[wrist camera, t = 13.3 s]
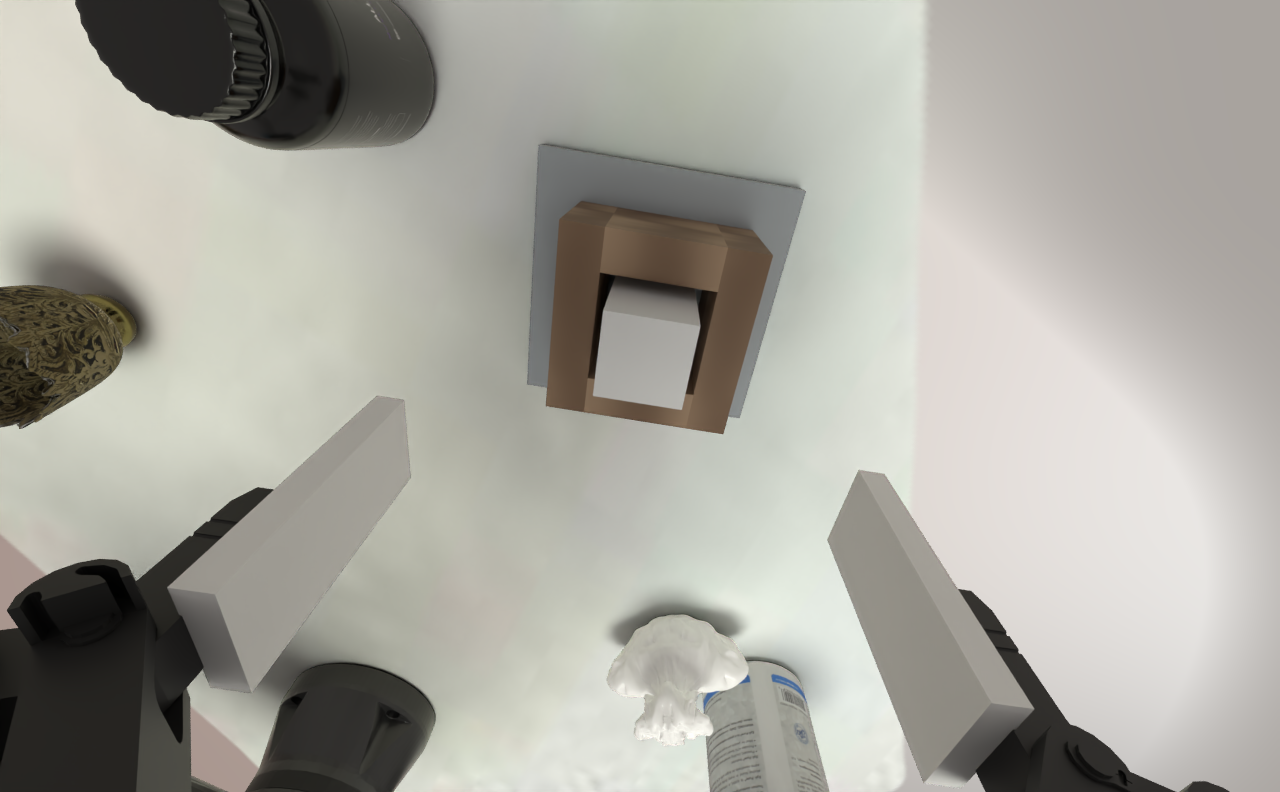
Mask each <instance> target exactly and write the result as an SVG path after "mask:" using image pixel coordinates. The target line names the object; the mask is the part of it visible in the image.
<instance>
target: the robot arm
mask: <svg viewBox="0 0 1280 792" xmlns="http://www.w3.org/2000/svg"><path fill="white" fill-rule="evenodd" d="M410 478H411V474H410V463H409V451H408V439H407V427H406V415H405V404H404V400H401V399H395V398H388V397H382V396H376V397H375V398H374V399H373V400H372V401H371V402H369V403H368V404H367V405H366V406H365V407H364V408H363V409H362V410H361V411H360V412H359V413H357V414H356V415H355V416H354V417H353V418H352V419H351V420H350V421H349V422H348V423H347V424H345V425H344V426H343V427H342V428H341V429H340V430H339V431H338V432H337V433H336V434H334V435H333V436H332V437H331V438H330V439H329V440H328V441H327V442H326V443H325V444H324V445H322V446H321V447H320V448H319V449H318V450H317V451H316V452H315V453H314V454H313V455H312V456H310V457H309V458H308V459H307V460H306V461H305V462H304V463H303V464H302V465H301V466H299V467H298V468H297V469H296V470H295V471H294V472H293V473H292V474H291V475H290V476H289V477H287V478H286V479H285V480H284V481H283V482H282V483H281V484H280V485H279V486H278V487H277V488H275V489H274V490H273V489H266V488H259V487H257V488H255V489H253V490H251V491H249V492H247V493H245V494H244V495H242V496H240V497H238V498H236V499H234V500H232V501H230V502H229V503H228V504H227V505H226V506H224V507H223V508H222V509H221V510H220V511H218V512H217V513H216V514H215V515H214V516H213V517H211V520H210V521H209V522H206V523H204V524H203V525H202V526H201V527H200V528H198V529H197V530H196V531H195V532H194V535H193V536H189V537H188V538H187V539H186V540H184V541H183V542H182V543H181V544H180V545H178V546H177V547H176V548H175V549H174V550H173V551H171V552H170V553H169V554H168V555H167V556H166V557H164V558H163V559H162V560H161V561H160V562H158V563H157V564H156V565H155V566H154V567H153V568H151V569H150V570H149V571H148V572H147V573H146V574H144V575H143V576H142V577H141V578H140V579H138V580H137V581H135V579H134V577H133V575H132V572H131V570H130V568H129V566H128V565H126V564H124V563H122V562H120V561H118V560H109V559H97V560H91V561H86V562H80V563H76V564H73V565H70V566H68V567H65V568H62V569H59V570H56V571H54V572H52V573H50V574H48V575H46V576H44V577H43V578H41V579H39V580H37V581H35V582H33V583H32V584H31V585H29V586H28V587H27V588H26V589H24V590H23V591H22V592H21V593H20V594H18V595H17V596H16V597H15V598H14V600H13V602H12V603H11V605H10V606H9V608H8V609H7V612H8V613H9V615H10V616H11V618H12V619H13V620H14V622H15V623H16V625H17V626H18V628H14V629H7V630H0V792H227V791H225V790H222V789H220V788H218V787H216V786H214V785H211V784H209V783H207V782H205V781H202V780H200V779H198V778H196V777H194V776H191V732H190V730H191V729H190V696H189V694H188V691H187V687H188V685H189V684H190V683H191V682H192V681H193V680H194V678H195V677H196V676H197V675H198V674H199V673H200V672H201V670H202V669H203V671H204V673H205V676H206V678H207V680H208V682H209V685H210V687H211V688H217V689H224V690H231V691H239V692H246V693H252V692H253V691H254V690H255V688H256V687H257V686H258V684H259V683H260V681H261V680H262V679H263V677H264V676H265V675H266V673H267V672H268V671H269V669H270V668H271V667H272V665H273V664H274V662H275V661H276V660H277V658H278V657H279V656H280V654H281V653H282V652H283V650H284V649H285V648H286V646H287V645H288V643H289V642H290V641H291V639H292V638H293V637H294V635H295V634H296V633H297V631H298V630H299V629H300V627H301V626H302V624H303V623H304V622H305V620H306V619H307V618H308V616H309V615H310V614H311V612H312V611H313V610H314V608H315V607H316V605H317V604H318V603H319V601H320V600H321V599H322V597H323V596H324V595H325V593H326V592H327V591H328V589H329V588H330V586H331V585H332V584H333V582H334V581H335V580H336V578H337V577H338V576H339V574H340V573H341V572H342V570H343V569H344V567H345V566H346V565H347V563H348V562H349V561H350V559H351V558H352V557H353V555H354V554H355V553H356V551H357V550H358V548H359V547H360V546H361V544H362V543H363V542H364V540H365V539H366V538H367V536H368V535H369V534H370V532H371V531H372V529H373V528H374V527H375V525H376V524H377V523H378V521H379V520H380V519H381V517H382V516H383V515H384V513H385V512H386V510H387V509H388V508H389V506H390V505H391V504H392V502H393V501H394V500H395V498H396V497H397V496H398V494H399V493H400V491H401V490H402V489H403V487H404V486H405V485H406V483H407V482H408V481H409V479H410ZM827 540H828V543H829V545H830V548H831V550H832V553H833V555H834V558H835V561H836V563H837V566H838V568H839V571H840V573H841V576H842V578H843V581H844V583H845V586H846V588H847V591H848V593H849V596H850V598H851V601H852V603H853V606H854V609H855V611H856V614H857V616H858V619H859V621H860V624H861V626H862V629H863V631H864V634H865V636H866V639H867V641H868V644H869V646H870V649H871V651H872V654H873V657H874V659H875V662H876V664H877V667H878V669H879V672H880V674H881V677H882V679H883V682H884V684H885V687H886V689H887V692H888V694H889V697H890V699H891V702H892V705H893V707H894V710H895V712H896V715H897V717H898V720H899V722H900V725H901V727H902V730H903V732H904V735H905V737H906V740H907V742H908V745H909V747H910V750H911V752H912V755H913V758H914V760H915V762H916V765H917V768H918V770H919V772H920V775H921V778H922V780H923V783H924V784H931V785H939V786H946V787H954V788H962V787H963V786H964V785H965V784H966V783H967V782H968V780H970V778H971V777H972V776H973V775H974V774H975V773H977V775H978V777H979V779H980V781H981V783H982V785H983V787H984V789H985V791H986V792H1175V791H1173V790H1170V789H1168V788H1166V787H1164V786H1161V785H1159V784H1157V783H1154V782H1152V781H1149V780H1147V779H1145V778H1143V777H1140V776H1138V775H1136V774H1134V773H1131V772H1130V771H1129V770H1128V768H1127V767H1126V765H1125V764H1124V763H1123V762H1122V760H1121V759H1120V758H1119V757H1118V756H1117V755H1116V754H1115V753H1114V752H1113V751H1112V750H1111V749H1110V748H1109V747H1108V746H1106V745H1105V744H1104V743H1103V742H1101V741H1100V740H1098V739H1097V738H1096V737H1095V736H1094V735H1092V734H1090V733H1088V732H1086V731H1084V730H1082V729H1081V728H1079V727H1077V726H1073V725H1070V724H1069V723H1068V721H1067V720H1066V719H1065V717H1064V716H1063V714H1062V713H1061V711H1060V710H1059V709H1058V707H1057V705H1056V704H1055V703H1054V701H1053V699H1052V698H1051V697H1050V695H1049V694H1048V692H1047V691H1046V689H1045V688H1044V686H1043V685H1042V684H1041V682H1040V681H1039V679H1038V677H1037V676H1036V675H1035V673H1034V672H1033V670H1032V669H1031V667H1030V666H1029V664H1028V663H1027V661H1026V660H1025V658H1024V657H1023V655H1022V654H1019V653H1018V648H1017V647H1016V645H1015V644H1014V642H1013V641H1012V639H1011V638H1010V636H1007V635H1006V630H1005V629H1004V628H1003V626H1002V625H1001V623H1000V622H999V620H998V619H997V617H996V616H995V615H994V613H993V612H992V610H991V609H989V607H987V606H986V605H985V604H984V603H983V602H982V601H981V600H980V599H979V598H978V597H977V596H976V595H975V594H974V593H973V592H972V591H967V590H961V589H957V587H956V586H955V584H954V582H953V581H952V579H951V578H950V576H949V574H948V573H947V571H946V570H945V568H944V567H943V565H942V564H941V562H940V560H939V559H938V557H937V556H936V554H935V553H934V551H933V550H932V548H931V546H930V545H929V543H928V542H927V540H926V538H925V537H924V535H923V534H922V532H921V531H920V529H919V528H918V526H917V524H916V523H915V521H914V520H913V518H912V517H911V515H910V513H909V512H908V510H907V509H906V507H905V506H904V504H903V502H902V501H901V499H900V498H899V496H898V495H897V493H896V491H895V490H894V488H893V487H892V485H891V484H890V482H889V480H888V479H887V477H886V476H885V474H881V473H875V472H868V471H862V470H858V473H857V475H856V477H855V479H854V481H853V484H852V486H851V488H850V490H849V493H848V495H847V497H846V499H845V501H844V504H843V506H842V508H841V510H840V513H839V515H838V517H837V519H836V521H835V524H834V526H833V528H832V530H831V533H830V535H829V537H828V539H827ZM434 724H435V715H434V711H433V709H432V707H431V705H430V704H429V702H428V701H427V700H426V698H425V697H424V696H423V695H422V694H421V693H420V692H418V691H417V690H416V689H415V688H413V687H412V686H410V685H409V684H407V683H406V682H404V681H402V680H400V679H398V678H396V677H394V676H392V675H390V674H387V673H385V672H382V671H379V670H375V669H372V668H368V667H363V666H357V665H349V664H329V665H322V666H318V667H314V668H311V669H309V670H307V671H305V672H303V673H302V674H301V675H300V676H299V677H298V678H297V679H296V681H295V682H294V684H293V685H292V687H291V688H290V689H289V691H288V692H287V694H286V695H285V697H284V698H283V700H282V702H281V705H280V707H279V710H278V713H277V716H276V719H275V723H274V726H273V729H272V732H271V735H270V738H269V741H268V744H267V747H266V750H265V753H264V756H263V759H262V762H261V765H260V768H259V770H258V772H257V774H256V776H255V777H254V779H253V780H252V782H251V783H250V785H249V786H248V788H247V790H246V791H245V792H394V790H395V789H396V788H397V786H398V785H399V784H400V782H401V781H402V779H403V778H404V777H405V775H406V774H407V773H408V771H409V770H410V769H411V767H412V766H413V765H414V763H415V762H416V760H417V759H418V758H419V756H420V755H421V754H422V752H423V750H424V749H425V747H426V745H427V742H428V740H429V737H430V735H431V732H432V730H433V727H434ZM1180 792H1229V791H1228V790H1226V789H1224V788H1222V787H1219V786H1217V785H1214V784H1211V783H1209V782H1205V781H1202V782H1200V781H1199V782H1192V783H1191V784H1190V785H1188V786H1187V787H1185V788H1184V789H1183V790H1181V791H1180Z"/></svg>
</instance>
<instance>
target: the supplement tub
mask: <svg viewBox="0 0 1280 792" xmlns="http://www.w3.org/2000/svg"><path fill="white" fill-rule="evenodd" d="M747 665H748V666H749V670H748V674H747V676H746V678H745V679H744V680H743V681H741V682H740V683H739V684H738V685H736V686H735V687H733V688H731V689H728V690H724V691H715V692H710V693H703V703H704V714H706V715H708V716H709V718H710V721H711V723H712V725H713V733H712V734H711V735H710V736H707V735H706V745H707V759H708V772H709V785H710V792H829V788H828V784H827V780H826V776H825V772H824V769H823V765H822V761H821V757H820V753H819V749H818V745H817V741H816V738H815V734H814V730H813V726H812V722H811V718H810V714H809V710H808V706H807V702H806V699H805V695H804V691H803V688H802V685H801V683H800V682H799V680H798V679H797V677H796V676H795V675H794V674H793V673H791V672H790V671H789V670H787V669H785V668H783V667H781V666H779V665H776V664H773V663H769V662H762V661H747Z"/></svg>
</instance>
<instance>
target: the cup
mask: <svg viewBox="0 0 1280 792" xmlns="http://www.w3.org/2000/svg"><path fill="white" fill-rule="evenodd" d="M136 332H137V328H136V323H135V321H134V319H133V317H132V315H131V314H130V313H129V311H128V310H127V309H126V308H125V307H124V306H122V305H121V304H120V303H118V302H117V301H115V300H113V299H111V298H109V297H106V296H102V295H96V294H82V295H77V294H74V293H72V292H69V291H66V290H62V289H58V288H54V287H47V286H36V285H22V286H8V287H0V428H1V427H6V426H11V425H14V424H17V426H19V429H21V428H24V427H26V426H28V425H30V424H31V423H33V422H38V421H39V420H41V419H42V418H44V417H45V416H47V415H49V414H50V413H52V412H54V411H55V410H57V409H59V408H61V407H62V406H64V405H66V404H67V403H69V402H71V401H72V400H74V399H76V398H77V397H79V396H81V395H82V394H84V393H86V392H87V391H89V390H90V389H92V388H93V387H95V386H96V385H98V384H99V383H101V382H102V381H103V380H105V379H106V378H107V377H108V376H109V375H110V374H112V372H113V371H114V370H115V369H116V367H117V366H118V364H119V363H120V360H121V358H122V353H123V347H125V346H127V345H128V344H130V342H131V341H132V340H133V339H134V337H135V336H136ZM18 423H19V424H18Z"/></svg>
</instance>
